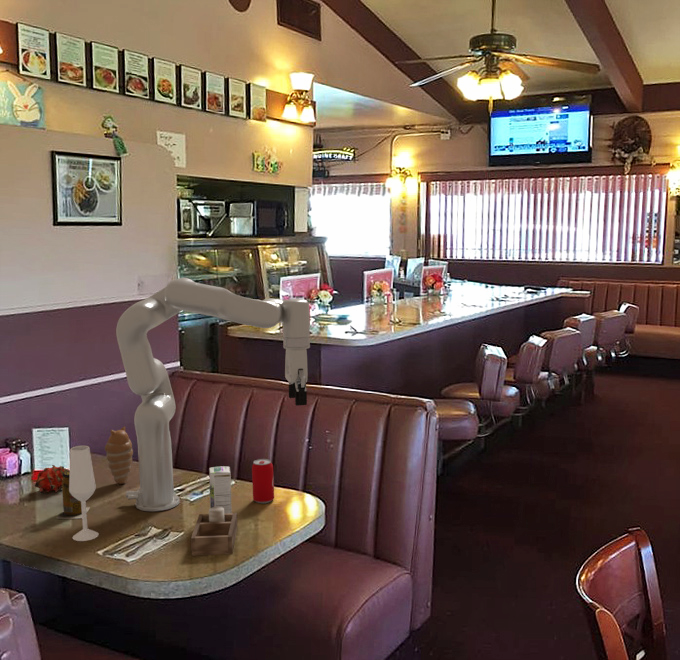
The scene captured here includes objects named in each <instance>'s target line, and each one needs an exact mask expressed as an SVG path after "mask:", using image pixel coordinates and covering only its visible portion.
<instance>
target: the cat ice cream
mask: <svg viewBox="0 0 680 660" xmlns="http://www.w3.org/2000/svg"><path fill="white" fill-rule="evenodd" d="M129 437H130V436H129V435H128V433H127V432H126V426H123V427H121V428H120V429H117V430H114V429H111V430H110V435H109V437H108V440H107V442H106V444H105V446H104V451H105V452H106V456H105V457H106V460H107V461H108V468H109V469H110V472H111V475H112V476H113V479H114V481H115V483H116V484H120V485H123V484H126V483H127V481H128V480H129V474H130V472H131V468H132V463H133V455H134V449H133V443H132V440H131V439H130V438H129Z"/></svg>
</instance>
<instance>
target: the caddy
mask: <svg viewBox="0 0 680 660" xmlns="http://www.w3.org/2000/svg"><path fill="white" fill-rule="evenodd" d="M238 529H239V527H238V512H232V513H224V508H223V507H212V508H210V507H209V509H208V513H199V514H198V517H197V520H196V523H195V526H194V529H193V531H192V534H191V537H190V543H191V544H190V545H191V547H190V548H191V556H192V555H193V556H213V555H214V556H215V555H233V553H234V549H235V543H236V540H237V539H236V538H237V533H238ZM201 554H202V555H201Z"/></svg>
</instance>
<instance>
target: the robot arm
mask: <svg viewBox="0 0 680 660" xmlns="http://www.w3.org/2000/svg"><path fill="white" fill-rule="evenodd" d="M182 311H184V312H190V313H195V314H199V315H204V316H210V317H215V318H218V319H220V320H225V321H229V322H233V323H236V324H241V325H245V326H249V327H254V328H259V329H261V328H262V329H272V328H274V327H275V326H277V325H278V324H280V323H282V324H283V325H282V335H283V336H282V337H283V340H282V341H283V349H285V365H284V367H285V369H284V377H285V379H286V381H288V398H289V399H294V401H295V407H296V406H306V405H307V404H308V397H307V396H308V393H307V392H308V391H307V384H306V383H307V382H308V372H309V371H308V354H307V353H308V351H307V349H310V348H311V344H310V343H311V341H310V339H311V338H310V337H311V336H310V335H311V334H310V333H311V332H310V329H311V328H310V303H309V301H308V300H306V299H303V298H291V299H280V298H273V297H272V298H270V297H269V298H265V299H262V300H260V299H255V298H254V299H253V298H250V297H246V296H245V297H244V296H242V295H238V294H236V293H234V292H232V291H230V290H228V289H227V288H224V287H222V286H215V285H209V284H204V283H200V282H195V281H194V280H192V279H191V278H188V277H179V278H177V279H176V278H175V279H173V280H172V281H170V282H168V284H167V285H166V286H165V287H164V288H162V289H160V290H158V291H157V292H156V293H154V294H151V296H149V297H147V298H145V299H142V300H139V301H138V302H135V303H134V304H132V305H130V306H129V307H128V308H127V309H126V310H125V311H124V312H123V313H122V314H121V315H120V317H119V318H118V320H117V323H116V331H115V332H116V333H115V335H116V340H117V344H118V349H119V351H120V357H121V361H122V364H123V367H124V371H125V375H126V380H127V385H128V387H129V388H130V390H131V392H132V393H134V394H135V395H137V396H140V397H141V403H140V404H139V405H138V406H137V407H136V410H135V412H134V419H133V420H134V429H135V435H136V441H137V442H136V443H137V456H138V473H139V474H138V475H139V477H138V478H139V489H136V490H134V491H133V490H126V491H125V498H126V499H128V500H136V501H135V507H136V509H137V510H140V511H144V512H163V511H166V510H170V509H173V508H175V507H177V506H178V505H179V504H180V503H181V502H180V496H178V495H176V494H175V491H174V490H175V489H174V473H173V472H174V470H173V469H174V468H173V451H172V439H171V431H170V421H171V420H172V419H173V417H174V416H175V413H176V409H177V408H176V401H175V396H174V392H173V389H172V384H171V381H170V377H169V374H168V373H169V372H168V371H167V368H166V366H165V365H164V363H163V362H162V361H161V360H159V359H157V358H155V357H154V355H153V350H152V346H151V344H150V341H149V339H148V332H149V331H150V330H152V329H154V328H157V327H158V326H160V325H161V324H163V323H164V322H166V321H167V320H169V319H171V318H172V317H174V316H177V314H179V313H180V312H182Z"/></svg>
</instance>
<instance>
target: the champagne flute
mask: <svg viewBox="0 0 680 660" xmlns="http://www.w3.org/2000/svg"><path fill="white" fill-rule="evenodd" d="M69 451H70V453H69V470H70V478H69V492H70V493H71V495H72V496H73V497H74V498H76V499H77V500H79V501H81V508H82V518H81V520H82V522H81V523H82V529H81V530H80V531H78V532H77V533H75V534H73V536H72V539H73V541H75V542H76V541H77V542H86V541H92V540H95V539H96V538H97V537H99V532H98V531H95V530H93V529H89V527H88V515H87V513H88V512H87V513H86V507H87V502H86V501H87V500H89V499H90V498H91V497H92V496H93V494H94V493H95V491H96V489H97V485H96V479H95V473H94V468H93V462H92V456H91V455H92V454H91V450H90V446H88V445H77V446H73V447H71V448H70V449H69Z"/></svg>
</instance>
